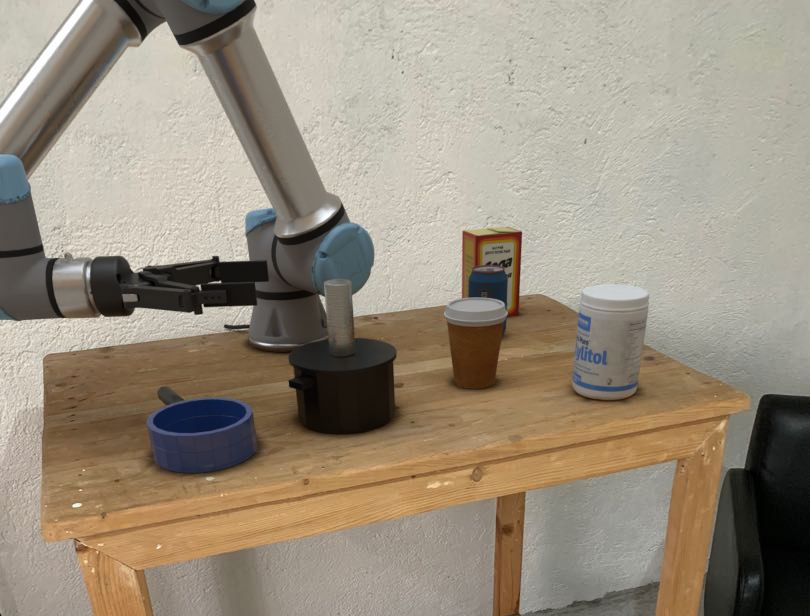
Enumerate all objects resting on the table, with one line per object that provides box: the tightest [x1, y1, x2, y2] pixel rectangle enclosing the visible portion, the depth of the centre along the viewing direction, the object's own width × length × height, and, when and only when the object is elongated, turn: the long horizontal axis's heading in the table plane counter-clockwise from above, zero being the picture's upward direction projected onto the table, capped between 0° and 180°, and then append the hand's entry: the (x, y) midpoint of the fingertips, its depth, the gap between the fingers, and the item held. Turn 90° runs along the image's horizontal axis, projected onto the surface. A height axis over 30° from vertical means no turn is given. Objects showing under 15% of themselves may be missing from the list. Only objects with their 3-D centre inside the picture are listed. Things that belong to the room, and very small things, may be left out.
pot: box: [287, 361, 396, 435], centre depth 111 cm, size 14×19×8 cm
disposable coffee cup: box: [443, 297, 508, 390], centre depth 121 cm, size 10×10×12 cm
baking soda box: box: [461, 226, 523, 317], centre depth 155 cm, size 10×6×16 cm
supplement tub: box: [571, 283, 650, 401], centre depth 115 cm, size 10×10×15 cm
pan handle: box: [157, 385, 186, 406], centre depth 110 cm, size 10×2×2 cm, turn 32°
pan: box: [146, 396, 258, 474], centre depth 103 cm, size 13×13×5 cm
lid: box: [287, 279, 398, 375], centre depth 107 cm, size 15×15×11 cm
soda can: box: [468, 265, 508, 336], centre depth 143 cm, size 7×7×12 cm
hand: (262, 281), depth 103 cm, fingers open, 13 cm apart
